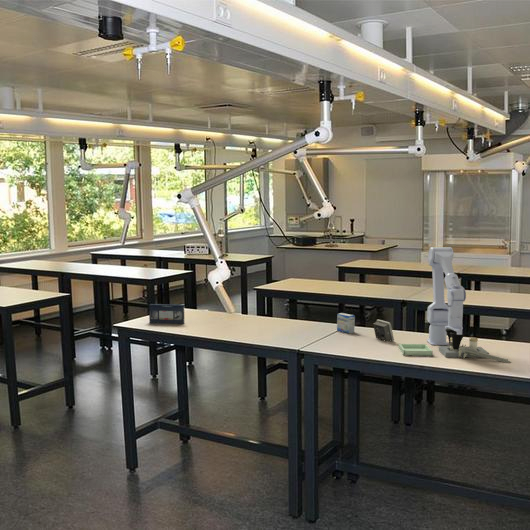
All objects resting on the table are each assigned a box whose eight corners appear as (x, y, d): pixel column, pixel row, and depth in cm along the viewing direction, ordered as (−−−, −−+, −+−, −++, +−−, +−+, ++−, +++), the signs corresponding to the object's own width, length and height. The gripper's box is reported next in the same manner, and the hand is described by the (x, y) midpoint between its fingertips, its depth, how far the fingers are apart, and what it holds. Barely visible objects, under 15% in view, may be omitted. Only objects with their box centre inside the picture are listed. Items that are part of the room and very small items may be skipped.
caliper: (458, 358, 251) (459, 344, 250) (458, 358, 252) (459, 343, 251) (511, 363, 244) (512, 348, 243) (511, 362, 245) (512, 347, 245)
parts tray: (398, 348, 266) (398, 343, 266) (425, 349, 266) (426, 344, 265) (403, 355, 254) (403, 350, 254) (432, 356, 254) (432, 351, 253)
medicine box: (336, 330, 301) (336, 313, 300) (342, 329, 304) (342, 312, 303) (348, 333, 295) (349, 316, 294) (354, 332, 298) (355, 314, 297)
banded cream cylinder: (448, 353, 259) (449, 337, 258) (456, 353, 259) (457, 337, 258) (450, 355, 256) (451, 338, 255) (459, 355, 256) (459, 339, 255)
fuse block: (438, 350, 263) (438, 346, 263) (480, 351, 262) (480, 346, 262) (445, 357, 252) (445, 352, 252) (489, 357, 251) (489, 353, 251)
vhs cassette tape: (149, 323, 316) (148, 304, 315) (150, 322, 319) (150, 303, 318) (183, 324, 314) (183, 305, 313) (184, 323, 317) (184, 304, 316)
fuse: (467, 353, 259) (468, 337, 258) (475, 353, 259) (476, 337, 258) (469, 355, 255) (470, 339, 255) (478, 355, 255) (478, 339, 254)
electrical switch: (394, 341, 280) (393, 322, 278) (385, 343, 277) (384, 324, 276) (381, 337, 288) (380, 318, 286) (372, 339, 285) (371, 320, 284)
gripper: (441, 312, 263) (440, 343, 264) (450, 319, 248) (449, 351, 250) (457, 313, 263) (456, 343, 264) (467, 319, 248) (466, 352, 250)
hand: (454, 347), depth 257 cm, fingers open, 5 cm apart
